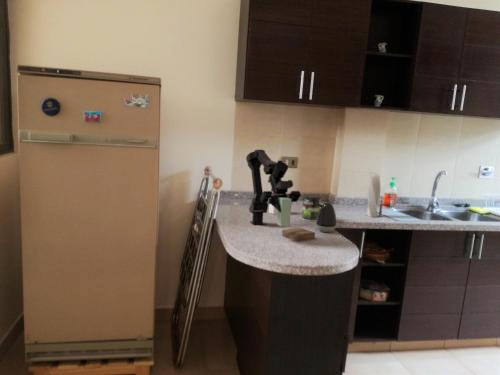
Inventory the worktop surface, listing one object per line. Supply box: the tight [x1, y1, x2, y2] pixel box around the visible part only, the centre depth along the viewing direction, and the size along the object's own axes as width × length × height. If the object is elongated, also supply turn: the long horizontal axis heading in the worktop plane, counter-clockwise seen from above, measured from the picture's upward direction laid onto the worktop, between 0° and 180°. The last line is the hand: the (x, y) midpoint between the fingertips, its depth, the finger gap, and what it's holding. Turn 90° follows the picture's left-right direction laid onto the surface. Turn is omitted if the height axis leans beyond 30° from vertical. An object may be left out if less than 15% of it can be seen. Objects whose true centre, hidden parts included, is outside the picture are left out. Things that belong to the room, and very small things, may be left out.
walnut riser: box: [281, 227, 316, 242], centre depth 185 cm, size 11×11×4 cm
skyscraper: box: [365, 172, 383, 219], centre depth 242 cm, size 8×8×28 cm
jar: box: [268, 203, 278, 215], centre depth 241 cm, size 9×8×12 cm
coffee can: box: [301, 194, 322, 222], centre depth 226 cm, size 10×10×14 cm
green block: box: [276, 198, 292, 227], centre depth 179 cm, size 4×4×12 cm
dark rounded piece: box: [315, 201, 337, 233], centre depth 198 cm, size 10×10×15 cm
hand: (285, 211), depth 177 cm, fingers closed on green block, 4 cm apart
